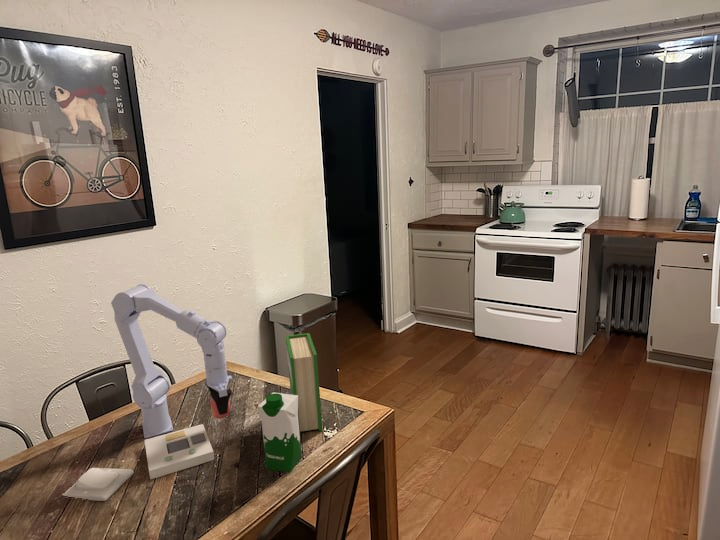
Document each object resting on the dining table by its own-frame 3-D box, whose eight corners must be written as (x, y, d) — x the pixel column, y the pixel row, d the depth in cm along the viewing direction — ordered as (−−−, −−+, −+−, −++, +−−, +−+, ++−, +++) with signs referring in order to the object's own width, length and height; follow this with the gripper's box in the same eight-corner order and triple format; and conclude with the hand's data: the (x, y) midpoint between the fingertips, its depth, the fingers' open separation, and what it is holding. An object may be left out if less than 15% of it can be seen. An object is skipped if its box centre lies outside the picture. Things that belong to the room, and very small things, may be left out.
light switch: (89, 459, 129) (131, 460, 127) (92, 473, 130) (134, 474, 128) (56, 486, 119) (102, 488, 116) (61, 501, 120) (106, 503, 117)
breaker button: (168, 451, 136) (167, 444, 135) (187, 446, 138) (186, 438, 138) (170, 461, 132) (169, 453, 131) (190, 455, 134) (188, 447, 133)
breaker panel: (145, 447, 138) (144, 438, 138) (203, 431, 145) (202, 422, 145) (150, 479, 124) (148, 468, 124) (214, 459, 131) (213, 449, 131)
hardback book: (322, 431, 142) (316, 354, 137) (297, 435, 141) (290, 358, 135) (314, 402, 159) (309, 333, 153) (291, 406, 158) (285, 335, 152)
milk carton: (261, 470, 126) (253, 399, 121) (277, 450, 134) (271, 383, 130) (291, 476, 123) (285, 403, 118) (307, 455, 131) (301, 386, 127)
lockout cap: (210, 412, 142) (208, 395, 141) (228, 407, 145) (226, 390, 143) (214, 420, 138) (212, 403, 137) (232, 415, 140) (230, 398, 139)
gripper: (235, 371, 133) (241, 416, 136) (224, 353, 146) (229, 395, 149) (209, 377, 130) (215, 423, 133) (200, 358, 143) (205, 401, 146)
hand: (221, 409), depth 141 cm, fingers closed on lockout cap, 5 cm apart
